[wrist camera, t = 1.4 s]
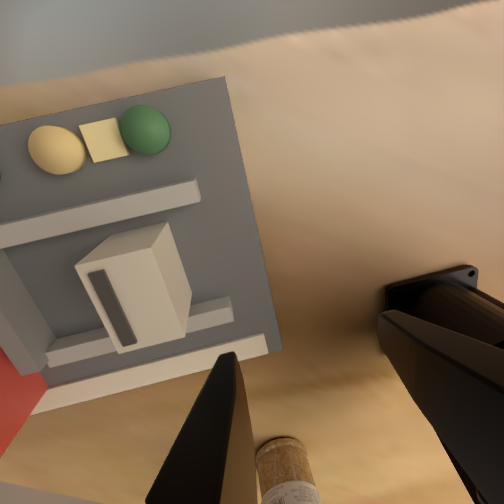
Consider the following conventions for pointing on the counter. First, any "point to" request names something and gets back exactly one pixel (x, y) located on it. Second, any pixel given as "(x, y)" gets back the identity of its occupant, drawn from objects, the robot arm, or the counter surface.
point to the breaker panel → (120, 220)
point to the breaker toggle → (138, 287)
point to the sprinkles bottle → (285, 473)
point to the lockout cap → (16, 398)
